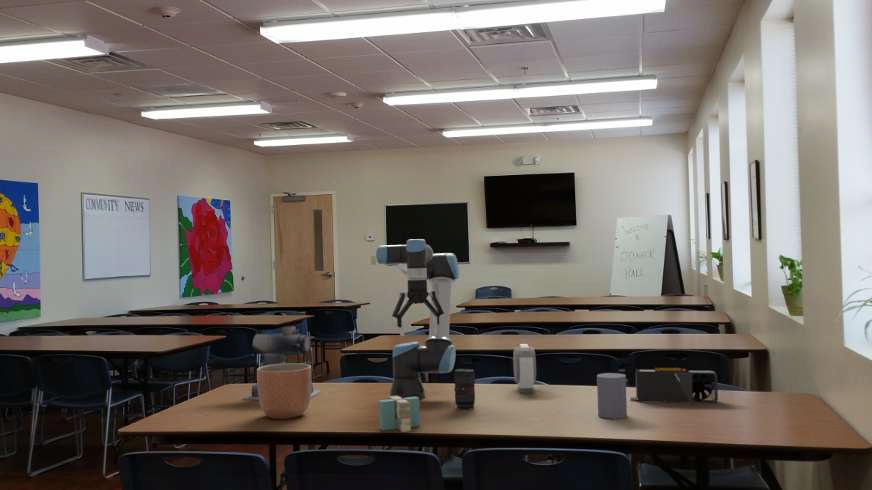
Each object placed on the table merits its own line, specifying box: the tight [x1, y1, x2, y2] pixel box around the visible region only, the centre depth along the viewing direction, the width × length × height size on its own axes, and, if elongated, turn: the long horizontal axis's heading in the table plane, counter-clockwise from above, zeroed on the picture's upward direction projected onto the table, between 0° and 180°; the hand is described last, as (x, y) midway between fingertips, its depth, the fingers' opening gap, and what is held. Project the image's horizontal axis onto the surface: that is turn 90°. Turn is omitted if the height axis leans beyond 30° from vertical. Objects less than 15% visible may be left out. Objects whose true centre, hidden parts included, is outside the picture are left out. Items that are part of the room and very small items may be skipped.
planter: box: [256, 362, 312, 420], centre depth 291 cm, size 21×21×19 cm
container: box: [596, 372, 628, 420], centre depth 275 cm, size 10×10×15 cm
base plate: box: [378, 397, 421, 431], centre depth 267 cm, size 14×3×10 cm, turn 111°
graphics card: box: [630, 367, 719, 404], centre depth 297 cm, size 33×5×14 cm, turn 75°
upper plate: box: [388, 395, 412, 433], centre depth 267 cm, size 14×3×10 cm, turn 21°
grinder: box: [241, 326, 323, 401], centre depth 333 cm, size 18×31×31 cm, turn 79°
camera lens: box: [453, 368, 476, 410], centre depth 296 cm, size 8×8×15 cm
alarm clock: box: [512, 343, 537, 394], centre depth 329 cm, size 18×8×20 cm, turn 179°
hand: (418, 334), depth 287 cm, fingers open, 13 cm apart
